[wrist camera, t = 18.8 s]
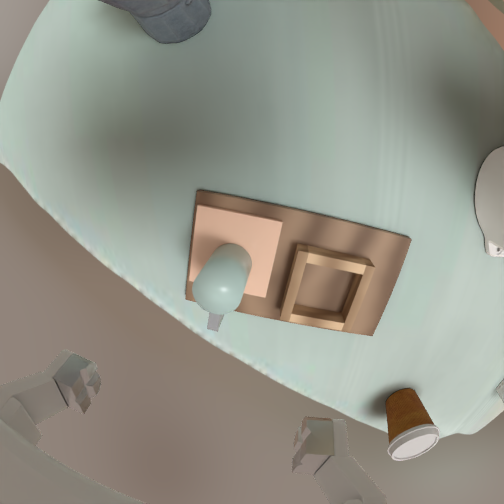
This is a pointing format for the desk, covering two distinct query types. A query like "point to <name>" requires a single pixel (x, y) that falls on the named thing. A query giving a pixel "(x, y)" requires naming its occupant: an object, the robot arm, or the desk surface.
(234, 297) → the pale blue rounded piece
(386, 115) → the desk surface
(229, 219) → the terracotta coaster
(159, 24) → the moka pot
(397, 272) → the walnut board
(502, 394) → the supplement box
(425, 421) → the disposable coffee cup
